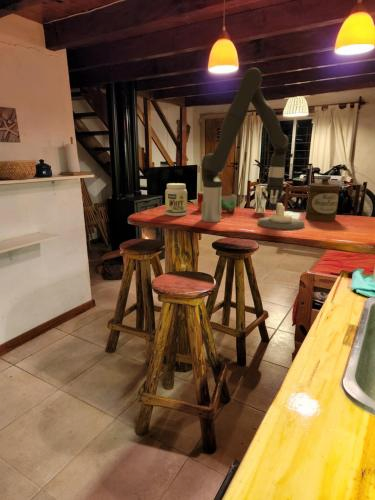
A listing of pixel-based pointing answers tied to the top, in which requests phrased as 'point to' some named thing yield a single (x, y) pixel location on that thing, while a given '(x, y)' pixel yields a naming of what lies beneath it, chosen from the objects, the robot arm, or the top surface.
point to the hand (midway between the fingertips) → (271, 210)
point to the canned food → (200, 200)
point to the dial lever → (280, 215)
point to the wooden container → (322, 201)
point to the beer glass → (260, 199)
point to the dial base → (281, 224)
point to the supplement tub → (176, 199)
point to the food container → (228, 203)
